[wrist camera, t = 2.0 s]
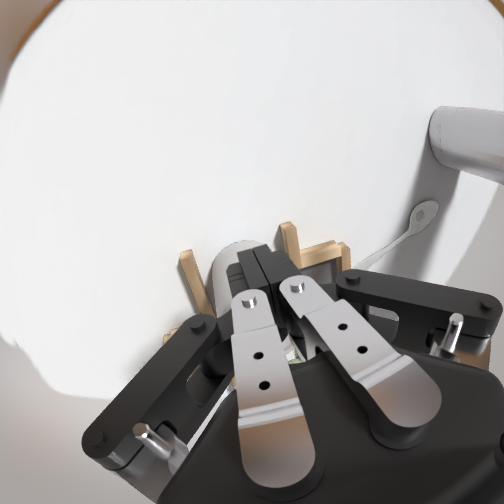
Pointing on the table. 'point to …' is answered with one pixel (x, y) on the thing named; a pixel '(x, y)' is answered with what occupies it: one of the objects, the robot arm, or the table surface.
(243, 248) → the can
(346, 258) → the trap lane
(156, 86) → the table surface
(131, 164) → the table surface
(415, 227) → the spoon
